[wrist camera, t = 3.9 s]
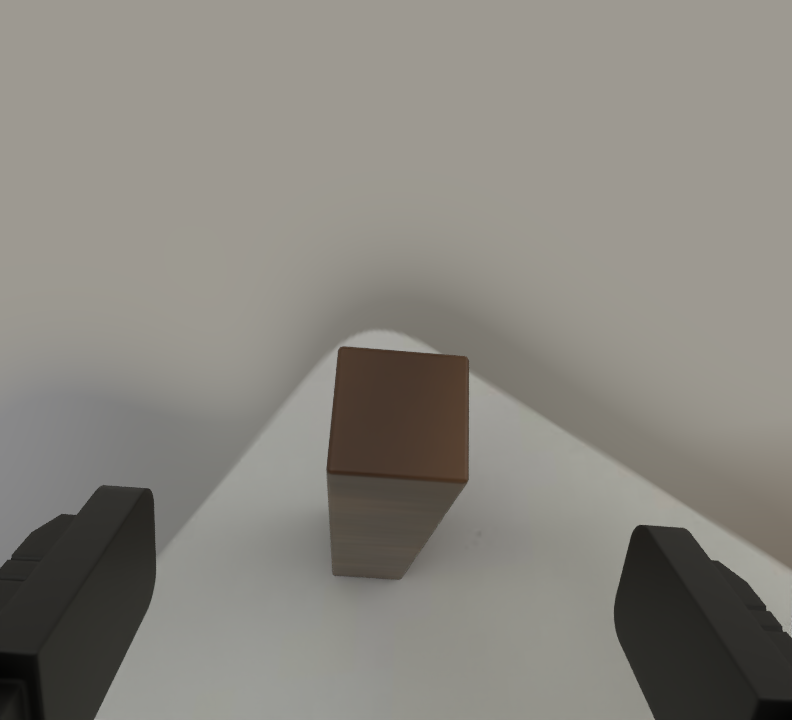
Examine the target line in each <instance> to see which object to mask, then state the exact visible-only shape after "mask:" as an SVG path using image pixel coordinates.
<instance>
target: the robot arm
mask: <svg viewBox="0 0 792 720" xmlns="http://www.w3.org/2000/svg"><path fill="white" fill-rule="evenodd" d="M155 578H156V550H155V521H154V499H153V494H152V491H151V490H150V489H148V488H134V487H119V486H106V485H103V486H100V487H99V488H98V489H97V490H96V491H95V493H94V494H93V495H92V496H91V498H90V499H89V500H88V501H87V503H86V504H85V505H84V506H83V508H82V509H81V510H80V512H79V513H78V514H77V515H68V514H61V515H59V516H58V517H56V518H54V519H53V520H51V521H49V522H48V523H46V524H45V525H43V526H41V527H40V528H38V529H36V530H35V531H33V532H31V534H30V535H29V536H28V537H27V538H26V539H25V541H24V542H23V543H22V544H21V545H20V546H19V547H18V548H17V550H16V551H15V552H14V553H13V554H12V558H11V560H7V561H6V562H5V563H4V565H3V566H2V567H1V568H0V720H94V718H95V716H96V714H97V712H98V710H99V708H100V706H101V704H102V702H103V700H104V698H105V696H106V694H107V692H108V689H109V687H110V685H111V683H112V681H113V679H114V677H115V675H116V673H117V671H118V669H119V667H120V665H121V663H122V661H123V659H124V657H125V655H126V653H127V651H128V649H129V646H130V644H131V642H132V640H133V638H134V636H135V634H136V632H137V630H138V628H139V626H140V624H141V622H142V620H143V618H144V616H145V614H146V612H147V609H148V607H149V605H150V602H151V598H152V595H153V590H154V585H155ZM614 622H615V629H616V633H617V637H618V639H619V642H620V644H621V646H622V648H623V651H624V653H625V655H626V657H627V659H628V661H629V664H630V666H631V668H632V670H633V672H634V675H635V677H636V679H637V681H638V683H639V685H640V688H641V690H642V692H643V694H644V696H645V698H646V701H647V703H648V705H649V707H650V709H651V712H652V714H653V716H654V718H655V720H792V638H791V637H790V636H789V634H788V633H787V632H783V630H782V626H781V624H780V623H779V622H778V621H777V619H776V618H775V617H774V616H773V614H772V613H771V612H770V611H766V606H765V604H764V603H763V602H762V601H761V599H760V598H759V597H758V596H757V594H756V593H755V592H754V591H753V589H752V588H751V587H750V586H749V584H748V583H747V582H746V581H744V580H743V579H742V578H740V577H739V576H738V575H736V574H735V573H734V572H732V571H731V570H730V569H728V568H727V567H726V566H724V565H723V564H722V563H720V562H719V561H714V560H710V558H709V557H708V556H707V554H706V553H705V552H704V550H703V549H702V548H701V546H700V545H699V544H698V542H697V541H696V540H695V538H694V537H693V536H692V534H691V533H690V532H689V531H688V530H687V529H685V528H677V527H663V526H649V525H639V526H637V527H636V528H635V529H634V531H633V533H632V535H631V538H630V542H629V546H628V550H627V554H626V558H625V562H624V566H623V570H622V574H621V578H620V582H619V586H618V590H617V594H616V598H615V605H614Z"/></svg>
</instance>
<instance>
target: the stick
mask: <svg viewBox="0 0 792 720" xmlns="http://www.w3.org/2000/svg"><path fill="white" fill-rule="evenodd" d="M326 470H327V487H328V505H329V522H330V540H331V557H332V573H333V575H335V576H350V577H366V578H382V579H398V580H399V579H401V578H402V577H403V575H404V574H405V572H406V571H407V570H408V568H409V567H410V565H411V564H412V562H413V561H414V559H415V558H416V556H417V555H418V554H419V552H420V551H421V549H422V548H423V546H424V545H425V543H426V542H427V541H428V539H429V538H430V536H431V535H432V533H433V532H434V530H435V529H436V527H437V526H438V525H439V523H440V522H441V520H442V519H443V517H444V516H445V514H446V513H447V512H448V510H449V509H450V507H451V506H452V504H453V503H454V501H455V500H456V498H457V497H458V496H459V494H460V493H461V491H462V490H463V488H464V487H465V485H466V484H467V482H468V480H469V360H468V358H467V357H465V356H456V355H443V354H431V353H419V352H406V351H394V350H381V349H369V348H357V347H344V346H343V347H340V349H339V350H338V358H337V368H336V378H335V388H334V399H333V409H332V419H331V429H330V439H329V449H328V459H327V469H326Z"/></svg>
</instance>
